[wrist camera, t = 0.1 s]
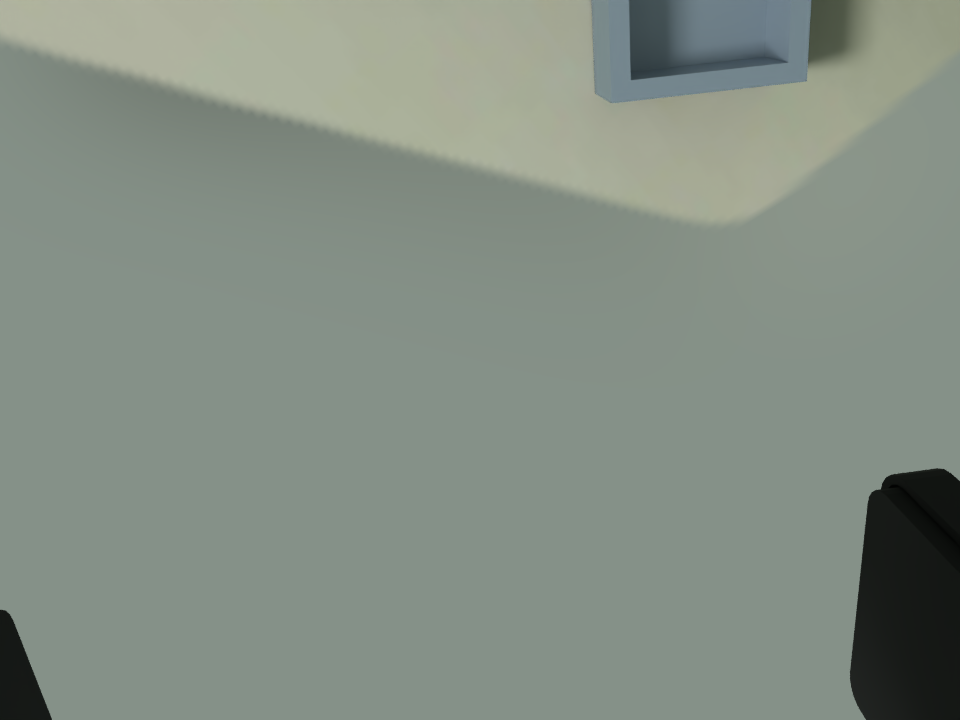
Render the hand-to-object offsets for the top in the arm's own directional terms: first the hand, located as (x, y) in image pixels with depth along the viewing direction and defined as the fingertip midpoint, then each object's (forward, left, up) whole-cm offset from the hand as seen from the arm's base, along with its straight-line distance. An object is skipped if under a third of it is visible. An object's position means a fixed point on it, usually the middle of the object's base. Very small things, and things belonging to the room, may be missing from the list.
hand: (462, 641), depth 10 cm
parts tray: (-5, +12, -31) cm, 34 cm away
